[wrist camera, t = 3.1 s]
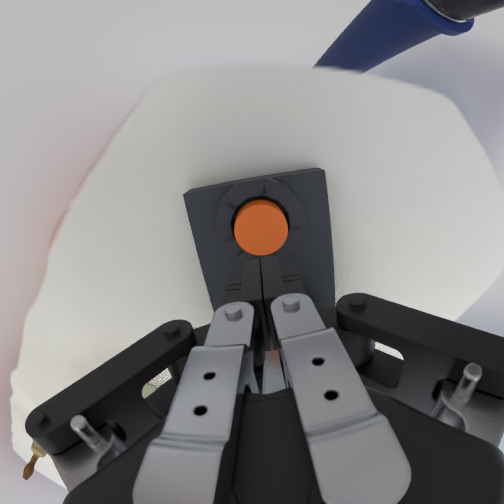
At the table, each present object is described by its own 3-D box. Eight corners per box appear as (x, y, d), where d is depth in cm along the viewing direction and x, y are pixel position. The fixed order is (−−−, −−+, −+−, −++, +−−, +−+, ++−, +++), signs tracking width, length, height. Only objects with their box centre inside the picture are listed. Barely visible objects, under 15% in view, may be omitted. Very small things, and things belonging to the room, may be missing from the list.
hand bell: (48, 448, 49) (32, 485, 34) (28, 430, 46) (9, 468, 31) (60, 449, 47) (42, 490, 32) (38, 431, 44) (17, 472, 30)
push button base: (188, 187, 23) (176, 195, 19) (317, 164, 22) (330, 169, 18) (230, 347, 29) (227, 373, 25) (331, 331, 28) (340, 356, 25)
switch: (231, 204, 20) (229, 209, 18) (281, 195, 20) (283, 200, 18) (240, 250, 21) (239, 259, 20) (288, 242, 21) (291, 251, 19)
